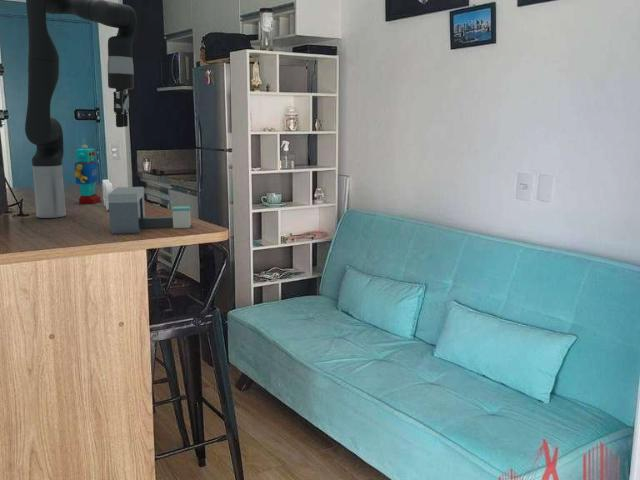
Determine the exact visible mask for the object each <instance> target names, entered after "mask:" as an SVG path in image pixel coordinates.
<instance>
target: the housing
mask: <svg viewBox="0 0 640 480" xmlns="http://www.w3.org/2000/svg"><path fill="white" fill-rule="evenodd" d="M108 201H109V211H108V214H109V231H110V232H109V233H110V234H112V235H113V234H115V235H116V234H118V235H119V234H139V233H140V232H141V231H142V229H141V217H146V204H145V188H144V186H119V187H116V188H115V189H113V191H112V192H110V193H109V194H108Z"/></svg>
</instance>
